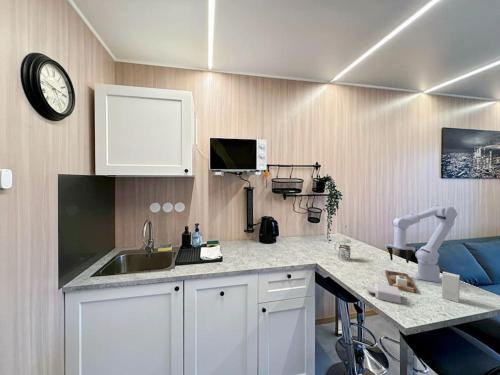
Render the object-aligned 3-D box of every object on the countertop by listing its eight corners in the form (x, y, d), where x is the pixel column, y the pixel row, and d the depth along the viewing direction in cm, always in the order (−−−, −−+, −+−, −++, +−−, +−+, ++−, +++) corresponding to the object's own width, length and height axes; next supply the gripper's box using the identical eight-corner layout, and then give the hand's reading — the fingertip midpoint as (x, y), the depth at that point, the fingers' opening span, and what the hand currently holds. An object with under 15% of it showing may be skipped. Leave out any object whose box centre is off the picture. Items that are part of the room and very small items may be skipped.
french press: (353, 262, 147) (354, 226, 147) (335, 260, 150) (336, 225, 149) (349, 257, 157) (350, 224, 156) (333, 256, 159) (334, 223, 159)
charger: (362, 288, 112) (396, 295, 105) (363, 296, 103) (400, 305, 97) (362, 279, 111) (397, 286, 105) (363, 286, 103) (400, 294, 96)
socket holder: (407, 277, 126) (407, 273, 125) (416, 293, 107) (416, 289, 107) (385, 273, 130) (385, 270, 130) (390, 288, 112) (390, 284, 112)
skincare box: (459, 299, 101) (460, 274, 101) (458, 303, 98) (460, 277, 98) (442, 294, 106) (443, 270, 106) (441, 298, 103) (442, 273, 103)
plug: (404, 285, 115) (405, 275, 115) (406, 289, 110) (407, 278, 110) (395, 284, 117) (396, 273, 116) (397, 288, 112) (397, 277, 112)
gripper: (386, 238, 124) (385, 261, 125) (417, 241, 118) (416, 266, 118) (384, 235, 131) (384, 257, 131) (413, 239, 124) (413, 261, 125)
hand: (399, 261), depth 125 cm, fingers open, 7 cm apart
